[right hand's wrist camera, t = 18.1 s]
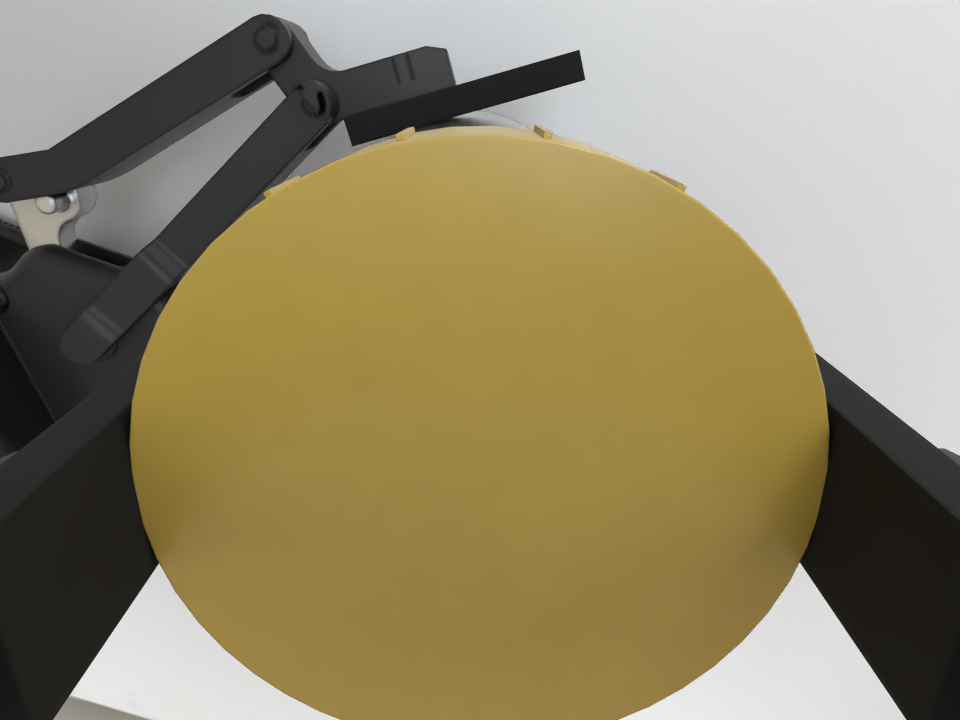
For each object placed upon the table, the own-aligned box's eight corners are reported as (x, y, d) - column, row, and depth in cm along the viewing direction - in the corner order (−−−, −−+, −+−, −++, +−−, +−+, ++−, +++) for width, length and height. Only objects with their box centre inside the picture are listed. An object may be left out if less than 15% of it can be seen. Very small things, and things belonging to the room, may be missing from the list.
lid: (376, 714, 15) (359, 818, 13) (60, 308, 11) (-35, 358, 9) (841, 532, 13) (910, 617, 11) (632, -12, 10) (675, -41, 7)
